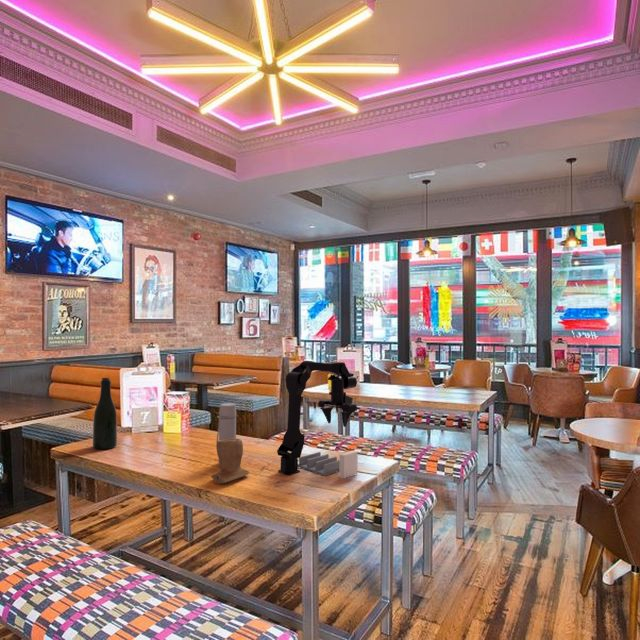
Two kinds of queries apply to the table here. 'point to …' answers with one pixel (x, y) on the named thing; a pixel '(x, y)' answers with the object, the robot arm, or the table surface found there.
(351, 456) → the beige upright tile
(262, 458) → the table surface
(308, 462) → the dish rack
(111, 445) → the dark wine bottle
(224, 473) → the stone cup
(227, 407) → the water bottle
